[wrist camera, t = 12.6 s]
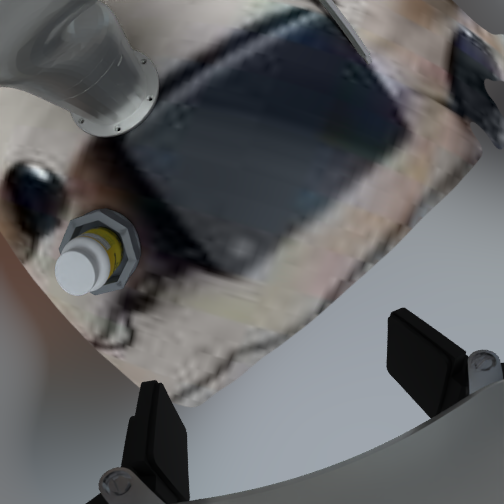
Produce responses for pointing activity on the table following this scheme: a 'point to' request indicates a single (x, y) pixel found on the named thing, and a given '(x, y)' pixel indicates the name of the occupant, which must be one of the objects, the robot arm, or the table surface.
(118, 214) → the socket cup
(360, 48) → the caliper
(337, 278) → the table surface
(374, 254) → the table surface
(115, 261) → the pill bottle
